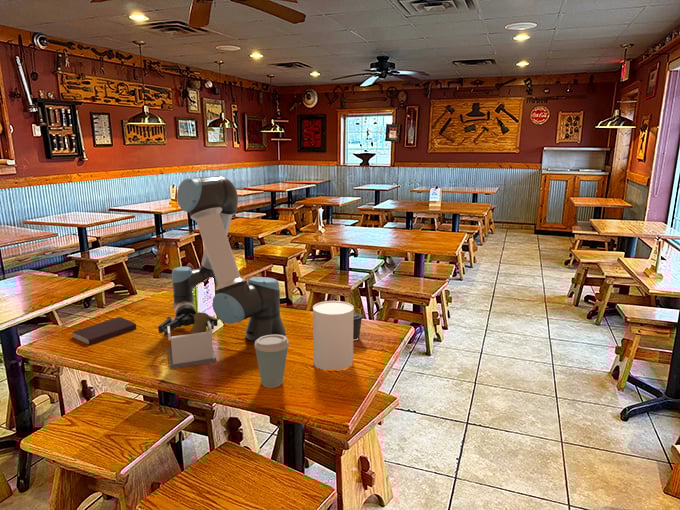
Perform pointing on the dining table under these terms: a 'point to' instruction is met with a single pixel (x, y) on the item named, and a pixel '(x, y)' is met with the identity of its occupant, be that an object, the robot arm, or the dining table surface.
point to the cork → (200, 322)
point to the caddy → (191, 350)
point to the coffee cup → (356, 325)
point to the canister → (333, 335)
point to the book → (103, 330)
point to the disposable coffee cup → (271, 359)
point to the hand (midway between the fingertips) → (190, 333)
